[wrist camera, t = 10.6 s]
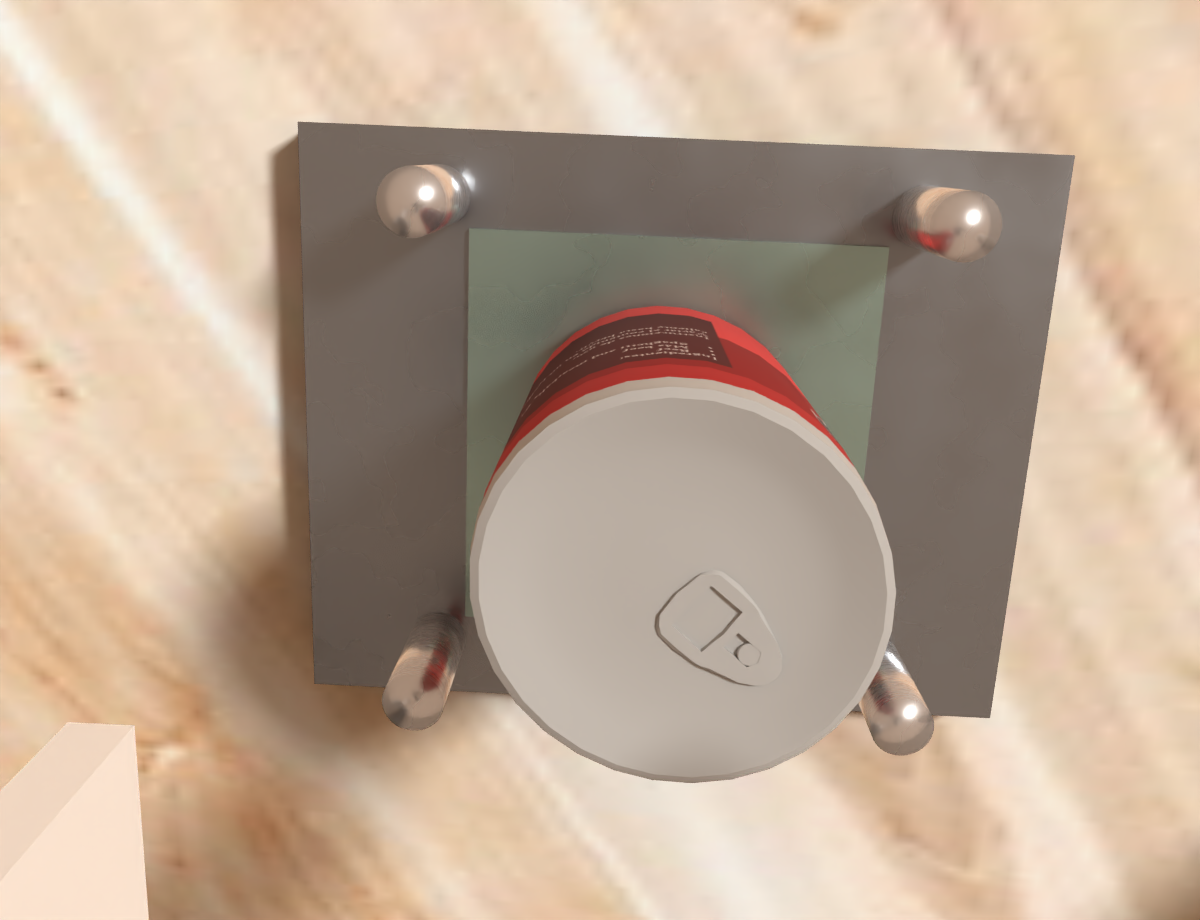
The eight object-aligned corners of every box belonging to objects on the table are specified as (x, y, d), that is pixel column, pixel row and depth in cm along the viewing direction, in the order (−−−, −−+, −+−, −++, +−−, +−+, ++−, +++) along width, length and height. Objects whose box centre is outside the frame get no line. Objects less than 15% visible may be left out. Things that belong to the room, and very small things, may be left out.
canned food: (725, 618, 32) (772, 850, 21) (473, 497, 31) (393, 675, 21) (861, 385, 30) (987, 513, 19) (597, 250, 29) (577, 305, 19)
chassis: (327, 661, 34) (272, 753, 29) (313, 123, 30) (246, 117, 25) (974, 694, 34) (1037, 793, 29) (1053, 155, 30) (1144, 156, 25)
